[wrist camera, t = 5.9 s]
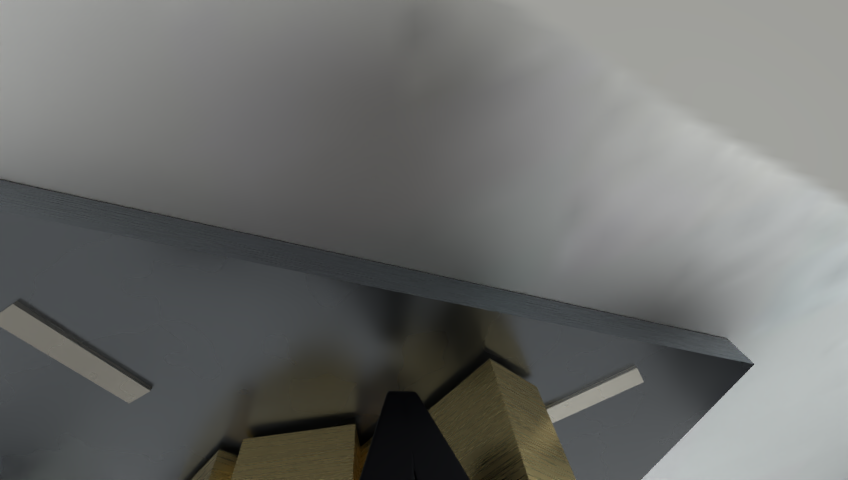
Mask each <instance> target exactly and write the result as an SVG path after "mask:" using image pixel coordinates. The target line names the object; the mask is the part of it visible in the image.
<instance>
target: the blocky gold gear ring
mask: <svg viewBox="0 0 848 480" xmlns="http://www.w3.org/2000/svg"><path fill="white" fill-rule="evenodd" d="M428 412H429V413H430V415H431V416H432V418H433V420H434V421H435V423H436V425H437V426H438V428H439V430H440V431H441V433H442V434H443V436H444V438H445V439H446V441H447V443H448V444H449V446H450V448H451V449H452V451H453V452H454V454H455V456H456V457H457V459H458V461H459V462H460V464H461V465H462V467H463V469H464V470H465V472H466V474H467V475H468V477H469V479H470V480H576V479H575V476H574V474H573V472H572V469H571V467H570V464H569V462H568V460H567V457H566V455H565V453H564V450H563V448H562V445H561V443H560V441H559V438H558V436H557V434H556V431H555V429H554V426H553V424H552V422H551V419H550V417H549V415H548V412H547V410H546V407H545V405H544V403H543V400H542V398H541V396H540V393H539V391H538V388H537V387H536V386H535V385H533V384H531V383H530V382H528V381H526V380H525V379H523V378H521V377H520V376H518V375H516V374H515V373H513V372H512V371H510V370H508V369H507V368H505V367H503V366H502V365H500V364H498V363H497V362H495V361H493V360H492V359H489V360H487V361H486V362H485V363H484V364H483V365H481V366H480V367H479V368H478V369H477V370H476V371H474V372H473V373H472V374H471V375H470V376H468V377H467V378H466V379H465V380H464V381H462V382H461V383H460V384H459V385H458V386H456V387H455V388H454V389H453V390H452V391H450V392H449V393H448V394H447V395H446V396H444V397H443V398H442V399H441V400H440V401H438V402H437V403H436V404H435V405H434V406H432V407H431V408H430V409H429V410H428ZM372 438H373V437H372ZM372 438H370V439H369V440H368V441H367V442H366V443H365V444H364V445H362V446H361V445H360V441H359V437H358V433H357V429H356V425H355V424H352V425H344V426H337V427H330V428H322V429H315V430H307V431H300V432H293V433H285V434H278V435H270V436H263V437H256V438H248V439H243V442H242V445H241V448H240V451H239V455H238V456H236V455H233V454H230V453H228V452H225V451H222V450H218V451H217V452H216V454H215V455H214V456H213V457H212V458H211V459H210V460H209V461H208V462H207V463H206V464H205V465H204V466H203V467H202V468H201V469H200V470H199V471H198V473H197V474H196V475H195V476H194V477H193V478H192V479H191V480H359V479H360V476H361V472H362V469H363V466H364V463H365V460H366V457H367V453H368V450H369V447H370V444H371V441H372Z"/></svg>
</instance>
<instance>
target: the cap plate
mask: <svg viewBox="0 0 848 480" xmlns="http://www.w3.org/2000/svg"><path fill="white" fill-rule="evenodd" d="M489 359H492V360H493V361H495V362H497V363H498V364H500V365H502V366H503V367H505V368H507V369H508V370H510V371H512V372H513V373H515V374H516V375H518V376H520V377H521V378H523V379H525V380H526V381H528V382H530V383H531V384H533V385H535V386H536V387H537V388H538V391H539V393H540V396H541V398H542V400H543V403H544V405H545V407H546V410H547V412H548V415H549V417H550V419H551V422H552V424H553V426H554V429H555V431H556V434H557V436H558V438H559V441H560V443H561V445H562V448H563V450H564V453H565V455H566V457H567V460H568V462H569V464H570V467H571V469H572V472H573V474H574V476H575V479H576V480H641V479H642V478H643V477H644V476H645V475H646V474H647V473H648V472H649V471H650V470H651V469H652V468H653V467H654V466H655V465H656V464H657V463H658V462H659V461H660V460H661V459H662V458H663V457H664V456H665V455H666V453H667V452H668V451H669V450H670V449H671V448H672V447H673V446H674V445H675V444H676V443H677V442H678V441H679V440H680V439H681V438H682V437H683V436H684V435H685V434H686V433H687V432H688V431H689V430H690V429H691V428H692V427H693V426H694V425H695V424H696V423H697V422H698V421H699V420H700V419H701V418H702V417H703V416H704V415H705V414H706V413H707V412H708V411H709V410H710V409H711V408H712V407H713V406H714V405H715V404H716V403H717V402H718V401H719V400H720V399H721V397H722V396H723V395H724V394H725V393H726V392H727V391H728V390H729V389H730V388H731V387H732V386H733V385H734V384H735V383H736V382H737V381H738V380H739V379H740V378H741V377H742V376H743V375H744V374H745V373H746V372H747V371H748V370H749V369H750V368H751V367H752V366H753V365H754V363H752V362H751V361H750V360H749V359H748V358H747V357H746V356H745V355H744V354H743V353H742V352H741V351H740V350H739V349H738V348H737V347H736V346H735V345H734V344H732V343H731V342H730V341H729V340H728V339H726V338H721V337H716V336H712V335H707V334H703V333H698V332H694V331H689V330H685V329H680V328H675V327H671V326H666V325H662V324H657V323H653V322H648V321H643V320H639V319H634V318H630V317H625V316H621V315H616V314H611V313H607V312H602V311H598V310H593V309H589V308H584V307H579V306H575V305H570V304H566V303H561V302H557V301H552V300H547V299H543V298H538V297H534V296H529V295H525V294H520V293H515V292H511V291H506V290H502V289H497V288H493V287H488V286H484V285H479V284H474V283H470V282H465V281H461V280H456V279H452V278H447V277H442V276H438V275H433V274H429V273H424V272H420V271H415V270H410V269H406V268H401V267H397V266H392V265H388V264H383V263H378V262H374V261H369V260H365V259H360V258H356V257H351V256H346V255H342V254H337V253H333V252H328V251H324V250H319V249H314V248H310V247H305V246H301V245H296V244H292V243H287V242H282V241H278V240H273V239H269V238H264V237H260V236H255V235H251V234H246V233H241V232H237V231H232V230H228V229H223V228H219V227H214V226H209V225H205V224H200V223H196V222H191V221H187V220H182V219H177V218H173V217H168V216H164V215H159V214H155V213H150V212H145V211H141V210H136V209H132V208H127V207H123V206H118V205H113V204H109V203H104V202H100V201H95V200H91V199H86V198H81V197H77V196H72V195H68V194H63V193H59V192H54V191H50V190H45V189H40V188H36V187H31V186H27V185H22V184H18V183H13V182H8V181H4V180H0V480H191V479H192V478H193V477H194V476H195V475H196V474H197V473H198V471H199V470H200V469H201V468H202V467H203V466H204V465H205V464H206V463H207V462H208V461H209V460H210V459H211V458H212V457H213V456H214V455H215V454H216V452H217V451H218V450H222V451H225V452H228V453H230V454H233V455H236V456H238V455H239V451H240V448H241V445H242V442H243V439H248V438H256V437H263V436H270V435H278V434H285V433H293V432H300V431H307V430H315V429H322V428H330V427H337V426H344V425H352V424H355V425H356V429H357V433H358V437H359V441H360V445H361V446H362V445H364V444H365V443H366V442H367V441H368V440H369V439H370V438H372V437H373V434H374V431H375V428H376V425H377V422H378V419H379V415H380V412H381V409H382V406H383V403H384V400H385V396H386V394H387V392H388V391H414V392H416V393H417V394H418V395H419V397H420V398H421V400H422V402H423V403H424V405H425V407H426V408H427V410H429V409H430V408H431V407H432V406H434V405H435V404H436V403H437V402H438V401H440V400H441V399H442V398H443V397H444V396H446V395H447V394H448V393H449V392H450V391H452V390H453V389H454V388H455V387H456V386H458V385H459V384H460V383H461V382H462V381H464V380H465V379H466V378H467V377H468V376H470V375H471V374H472V373H473V372H474V371H476V370H477V369H478V368H479V367H480V366H481V365H483V364H484V363H485V362H486V361H487V360H489Z"/></svg>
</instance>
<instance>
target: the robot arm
mask: <svg viewBox="0 0 848 480" xmlns="http://www.w3.org/2000/svg"><path fill="white" fill-rule="evenodd" d="M359 480H470V479H469V477H468V475H467V474H466V472H465V470H464V469H463V467H462V465H461V464H460V462H459V461H458V459H457V457H456V456H455V454H454V452H453V451H452V449H451V448H450V446H449V444H448V443H447V441H446V439H445V438H444V436H443V434H442V433H441V431H440V430H439V428H438V426H437V425H436V423H435V421H434V420H433V418H432V416H431V415H430V413H429V412H428V410H427V408H426V407H425V405H424V403H423V402H422V400H421V398H420V397H419V395H418V394H417V393H416V392H414V391H388V392H387V394H386V396H385V400H384V403H383V406H382V409H381V412H380V415H379V419H378V422H377V425H376V428H375V431H374V434H373V438H372V441H371V444H370V447H369V450H368V453H367V457H366V460H365V463H364V466H363V469H362V472H361V476H360V479H359Z"/></svg>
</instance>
